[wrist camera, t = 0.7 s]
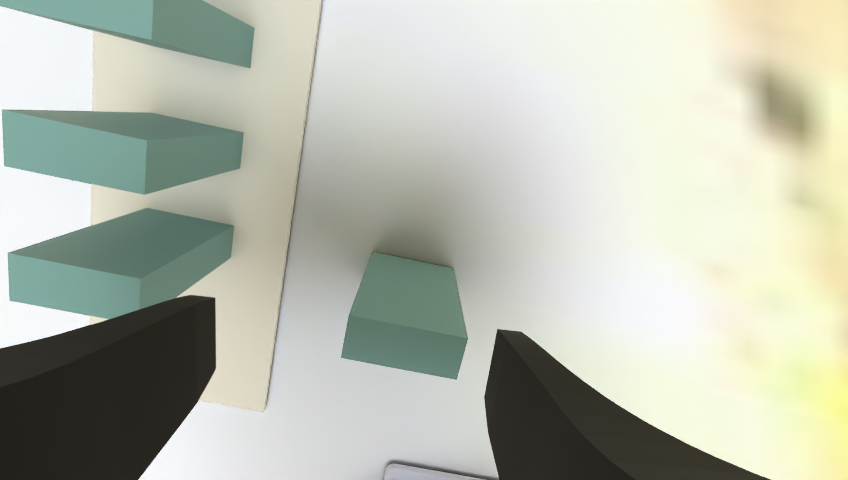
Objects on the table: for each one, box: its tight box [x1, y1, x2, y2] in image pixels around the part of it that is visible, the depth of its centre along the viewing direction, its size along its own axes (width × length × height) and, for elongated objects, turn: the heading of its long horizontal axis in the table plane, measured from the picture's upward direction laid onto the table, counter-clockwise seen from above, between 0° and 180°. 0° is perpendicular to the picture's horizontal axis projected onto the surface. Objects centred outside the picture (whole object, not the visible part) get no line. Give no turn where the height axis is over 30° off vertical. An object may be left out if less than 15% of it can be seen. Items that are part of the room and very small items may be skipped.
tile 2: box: [8, 208, 234, 319], centre depth 17 cm, size 2×4×7 cm, turn 78°
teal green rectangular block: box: [341, 252, 468, 380], centre depth 18 cm, size 2×4×7 cm, turn 78°
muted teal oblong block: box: [0, 0, 255, 68], centre depth 15 cm, size 2×4×7 cm, turn 78°
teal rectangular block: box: [2, 110, 244, 195], centre depth 16 cm, size 2×4×7 cm, turn 78°
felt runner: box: [90, 0, 322, 412], centre depth 20 cm, size 26×9×1 cm, turn 168°
